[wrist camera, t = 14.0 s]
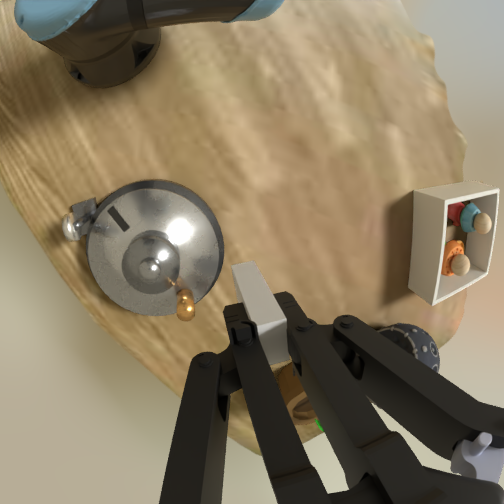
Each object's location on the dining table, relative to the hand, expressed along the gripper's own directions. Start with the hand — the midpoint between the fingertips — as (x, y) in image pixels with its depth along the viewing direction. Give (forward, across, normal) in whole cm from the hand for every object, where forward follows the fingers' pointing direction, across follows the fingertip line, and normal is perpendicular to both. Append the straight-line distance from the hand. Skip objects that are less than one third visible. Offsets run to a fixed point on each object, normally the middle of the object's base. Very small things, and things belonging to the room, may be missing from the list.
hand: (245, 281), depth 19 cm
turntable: (+24, -10, -6) cm, 26 cm away
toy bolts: (+26, +53, -16) cm, 62 cm away
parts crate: (+26, +52, -15) cm, 60 cm away
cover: (+22, -10, -5) cm, 25 cm away
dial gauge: (+26, -20, +2) cm, 33 cm away
